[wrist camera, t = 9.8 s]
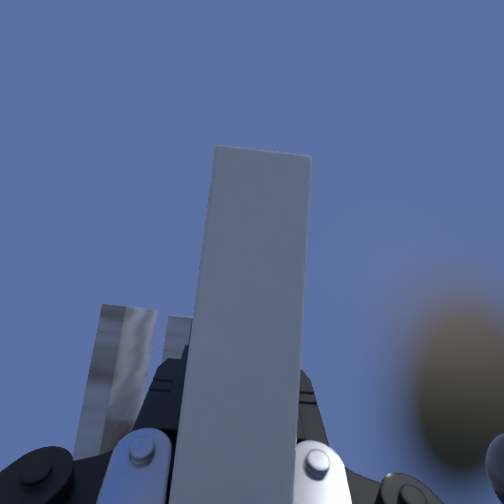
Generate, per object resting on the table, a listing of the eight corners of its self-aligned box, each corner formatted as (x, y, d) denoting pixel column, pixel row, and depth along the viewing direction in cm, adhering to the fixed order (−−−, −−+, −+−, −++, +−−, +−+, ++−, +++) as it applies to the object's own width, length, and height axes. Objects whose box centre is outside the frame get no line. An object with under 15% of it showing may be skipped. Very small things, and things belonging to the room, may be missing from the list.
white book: (271, 925, 4) (313, 154, 7) (112, 926, 4) (215, 142, 7) (236, 432, 24) (251, 276, 27) (207, 429, 24) (225, 273, 26)
